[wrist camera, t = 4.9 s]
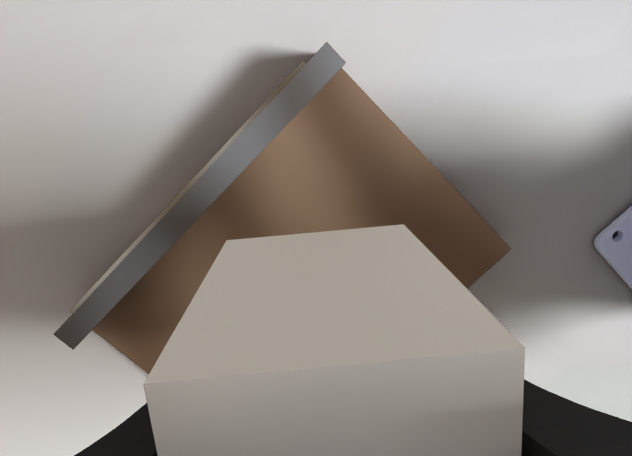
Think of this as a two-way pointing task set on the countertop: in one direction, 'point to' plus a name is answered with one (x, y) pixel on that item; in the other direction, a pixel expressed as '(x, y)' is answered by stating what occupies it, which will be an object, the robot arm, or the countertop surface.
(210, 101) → the countertop surface
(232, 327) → the carton
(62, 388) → the countertop surface
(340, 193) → the shelf
